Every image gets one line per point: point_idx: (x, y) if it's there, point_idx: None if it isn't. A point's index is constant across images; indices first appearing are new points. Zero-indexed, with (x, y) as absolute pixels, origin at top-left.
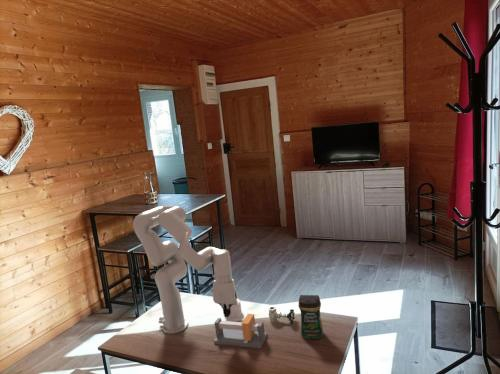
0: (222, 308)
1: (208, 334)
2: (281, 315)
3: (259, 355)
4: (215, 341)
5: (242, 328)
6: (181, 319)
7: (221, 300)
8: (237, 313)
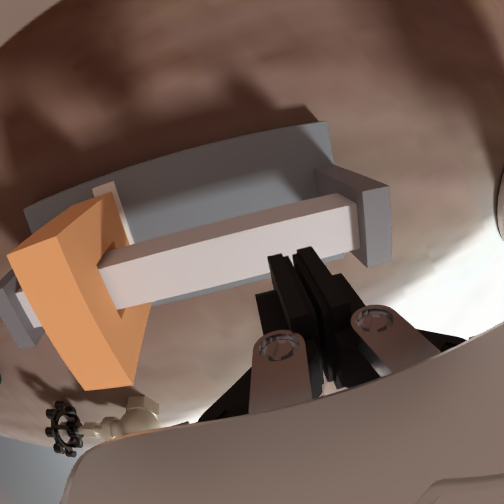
0: (374, 306)
1: (398, 192)
2: (99, 429)
3: (6, 152)
4: (313, 122)
5: (76, 217)
6: None
7: (473, 428)
8: (332, 386)
